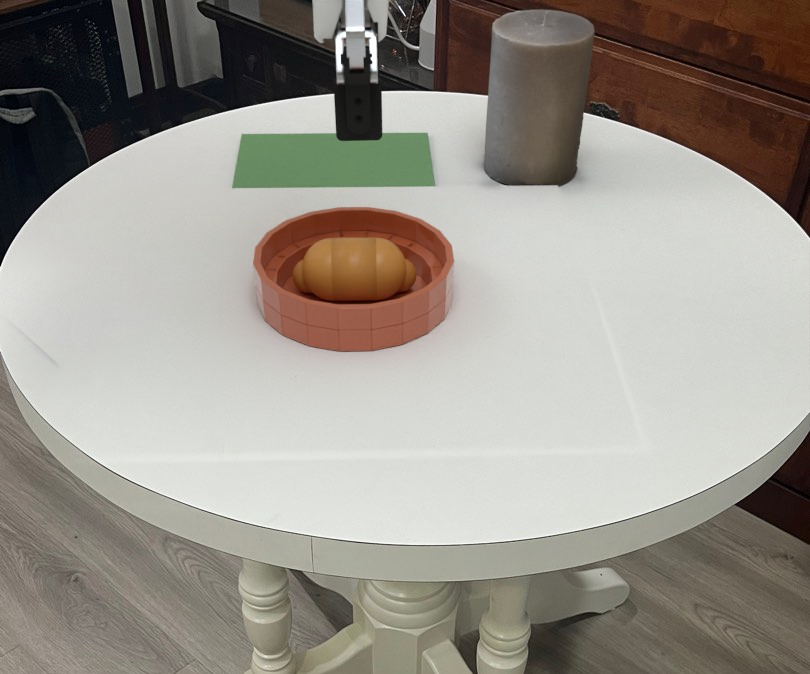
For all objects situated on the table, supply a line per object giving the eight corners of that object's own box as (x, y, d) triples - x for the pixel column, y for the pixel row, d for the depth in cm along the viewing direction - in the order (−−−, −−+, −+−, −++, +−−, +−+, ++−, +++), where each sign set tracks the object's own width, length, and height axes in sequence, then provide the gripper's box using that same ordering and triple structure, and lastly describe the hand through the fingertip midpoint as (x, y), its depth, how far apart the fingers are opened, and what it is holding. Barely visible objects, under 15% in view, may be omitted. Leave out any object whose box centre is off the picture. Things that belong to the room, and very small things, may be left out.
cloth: (232, 193, 98) (231, 189, 97) (242, 137, 107) (241, 133, 107) (435, 191, 98) (435, 187, 98) (427, 136, 108) (427, 132, 107)
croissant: (291, 313, 82) (287, 258, 78) (294, 281, 85) (290, 227, 82) (418, 311, 82) (419, 256, 78) (415, 279, 86) (416, 225, 82)
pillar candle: (596, 170, 102) (620, 12, 91) (531, 199, 97) (549, 37, 87) (526, 139, 107) (541, -14, 96) (462, 166, 102) (470, 8, 92)
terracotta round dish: (252, 359, 78) (246, 309, 75) (264, 254, 89) (260, 207, 86) (458, 356, 79) (461, 306, 75) (444, 252, 90) (446, 205, 87)
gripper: (292, -199, 67) (310, 67, 79) (280, -140, 54) (303, 164, 67) (404, -201, 67) (405, 65, 79) (417, -142, 55) (415, 161, 67)
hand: (358, 110), depth 73 cm, fingers open, 9 cm apart
